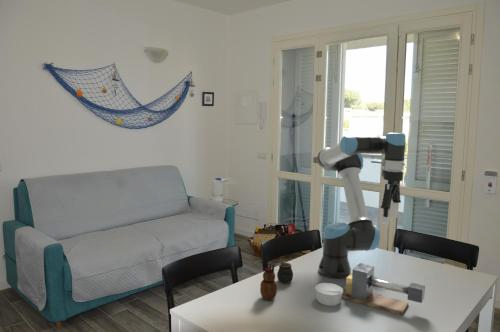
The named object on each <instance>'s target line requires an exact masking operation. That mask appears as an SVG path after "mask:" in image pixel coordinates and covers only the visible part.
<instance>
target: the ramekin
mask: <svg viewBox="0 0 500 332" xmlns="http://www.w3.org/2000/svg"><path fill="white" fill-rule="evenodd" d="M314 291H315V296H316V297H315V298H316V300H317V302H318V303H320V304H321V305H324V306H329V307H333V306H334V307H335V306H338V305H339V304H340V303H341V302H342V294H343V287H341V286H340V285H338V284H335V283H331V282H321V283H318V284H316V285H315V287H314Z"/></svg>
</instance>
